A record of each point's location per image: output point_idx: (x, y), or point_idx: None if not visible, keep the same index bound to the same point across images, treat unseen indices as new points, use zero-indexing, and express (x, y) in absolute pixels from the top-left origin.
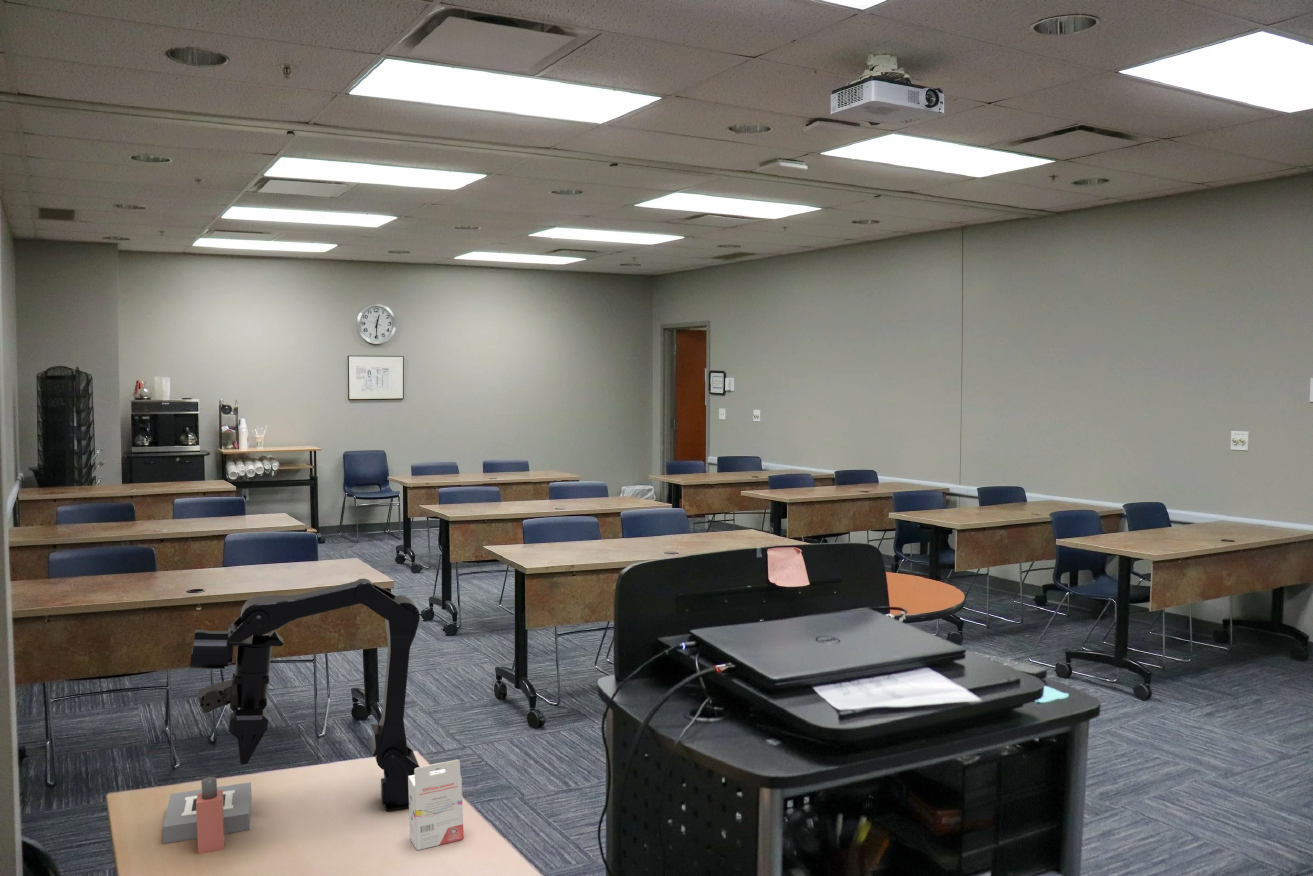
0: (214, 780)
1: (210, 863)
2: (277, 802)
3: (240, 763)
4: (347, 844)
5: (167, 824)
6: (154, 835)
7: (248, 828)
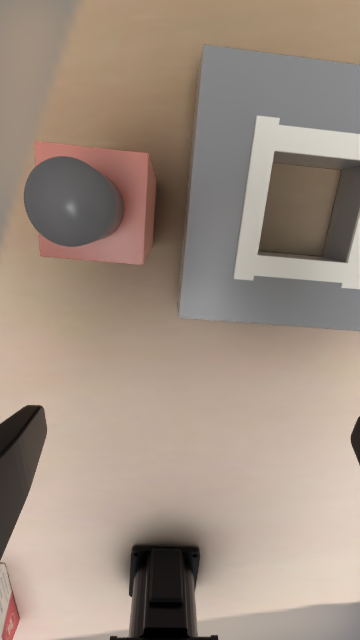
0: (43, 234)
1: None
2: (296, 372)
3: (24, 407)
4: None
5: (218, 63)
6: (271, 43)
7: (177, 303)
